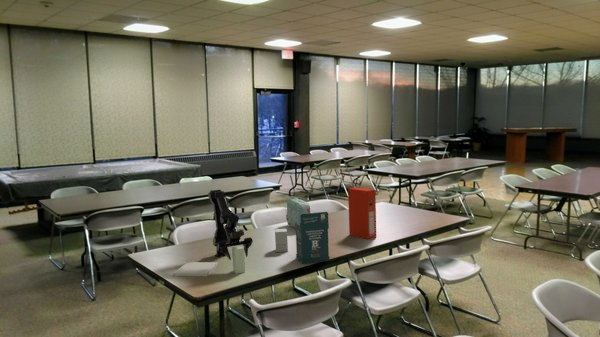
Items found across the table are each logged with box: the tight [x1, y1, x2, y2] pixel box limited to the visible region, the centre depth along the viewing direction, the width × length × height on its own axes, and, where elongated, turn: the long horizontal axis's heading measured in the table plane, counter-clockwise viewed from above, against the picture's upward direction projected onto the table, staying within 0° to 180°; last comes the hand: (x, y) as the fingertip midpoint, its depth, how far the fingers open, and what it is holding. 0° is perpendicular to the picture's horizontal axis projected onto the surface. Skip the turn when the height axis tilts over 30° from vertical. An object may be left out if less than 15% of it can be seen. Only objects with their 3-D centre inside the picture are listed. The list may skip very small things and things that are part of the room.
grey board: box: [173, 261, 219, 277], centre depth 243 cm, size 18×18×2 cm
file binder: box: [347, 186, 377, 240], centre depth 300 cm, size 8×17×32 cm, turn 39°
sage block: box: [231, 245, 246, 275], centre depth 238 cm, size 5×5×13 cm
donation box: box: [295, 211, 331, 265], centre depth 256 cm, size 16×16×28 cm
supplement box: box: [274, 228, 289, 253], centre depth 274 cm, size 7×7×13 cm
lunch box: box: [285, 197, 311, 230], centre depth 331 cm, size 27×10×21 cm, turn 25°
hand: (238, 257), depth 238 cm, fingers open, 9 cm apart
